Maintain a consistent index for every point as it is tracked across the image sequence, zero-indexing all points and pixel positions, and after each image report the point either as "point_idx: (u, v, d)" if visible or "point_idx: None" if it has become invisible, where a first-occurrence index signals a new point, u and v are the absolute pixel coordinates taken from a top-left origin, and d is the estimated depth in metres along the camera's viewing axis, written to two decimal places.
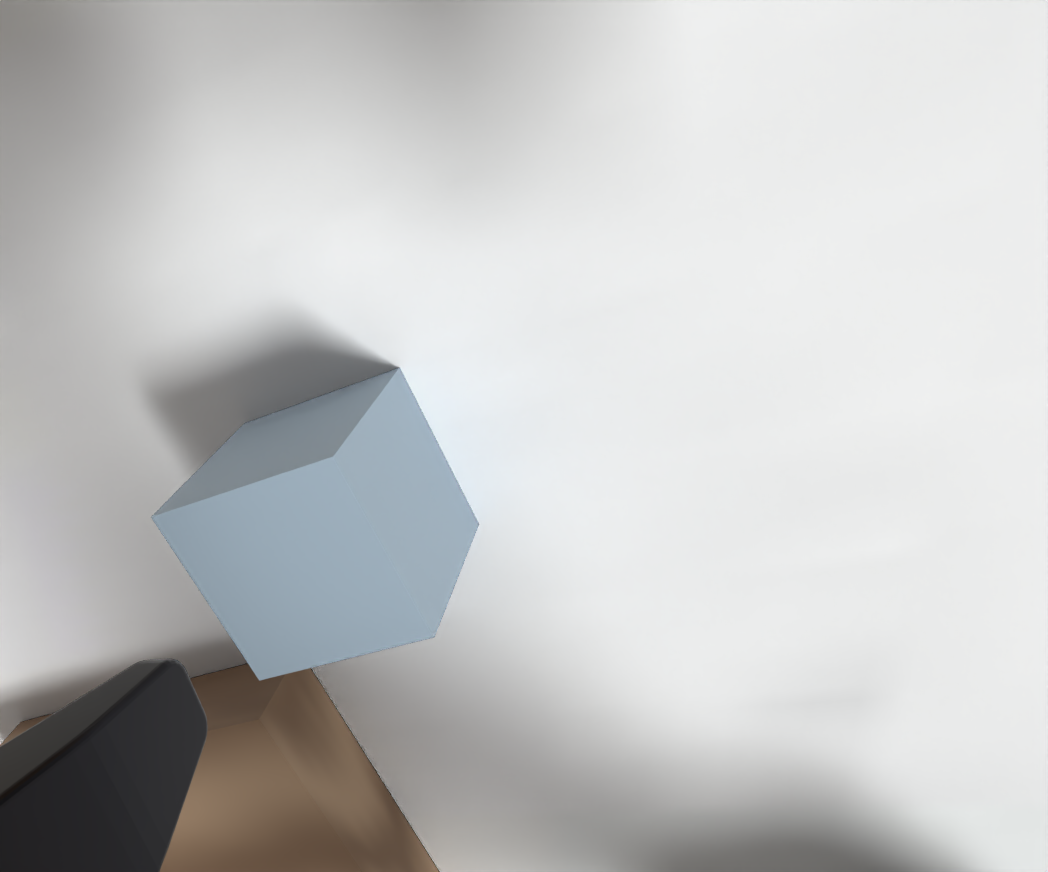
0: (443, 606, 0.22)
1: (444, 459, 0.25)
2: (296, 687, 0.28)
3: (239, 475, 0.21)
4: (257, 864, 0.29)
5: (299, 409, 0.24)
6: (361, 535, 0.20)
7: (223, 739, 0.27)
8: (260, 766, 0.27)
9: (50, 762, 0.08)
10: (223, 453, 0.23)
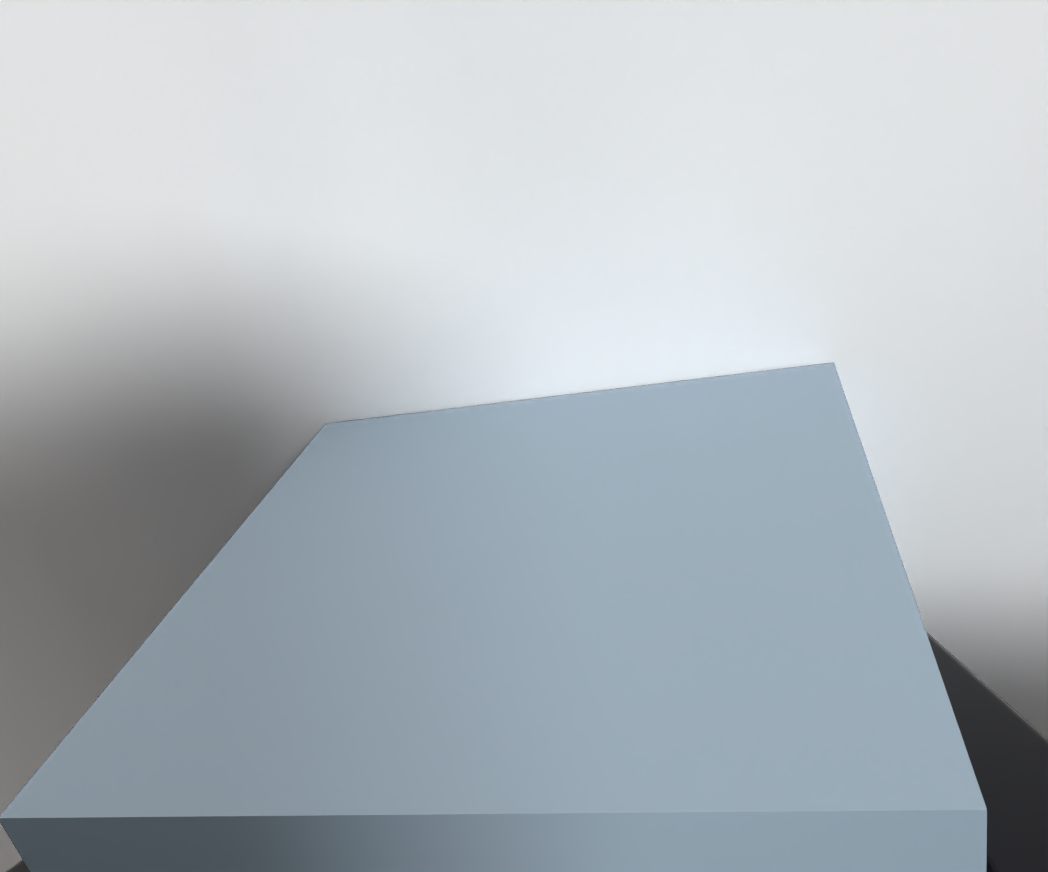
0: (909, 650, 0.05)
1: (589, 399, 0.09)
2: None
3: None
4: None
5: None
6: (342, 866, 0.05)
7: None
8: None
9: None
10: None
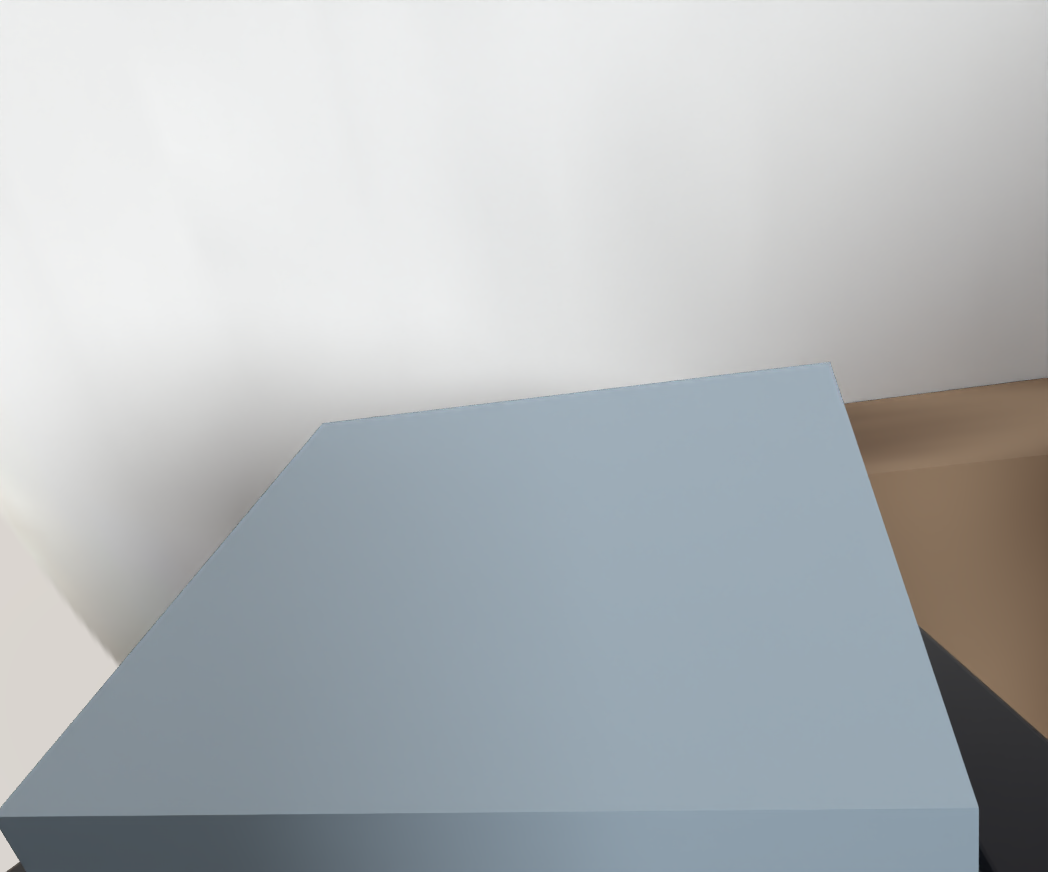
0: (904, 649, 0.05)
1: (586, 399, 0.09)
2: None
3: None
4: None
5: None
6: (337, 864, 0.05)
7: None
8: (902, 519, 0.16)
9: None
10: None
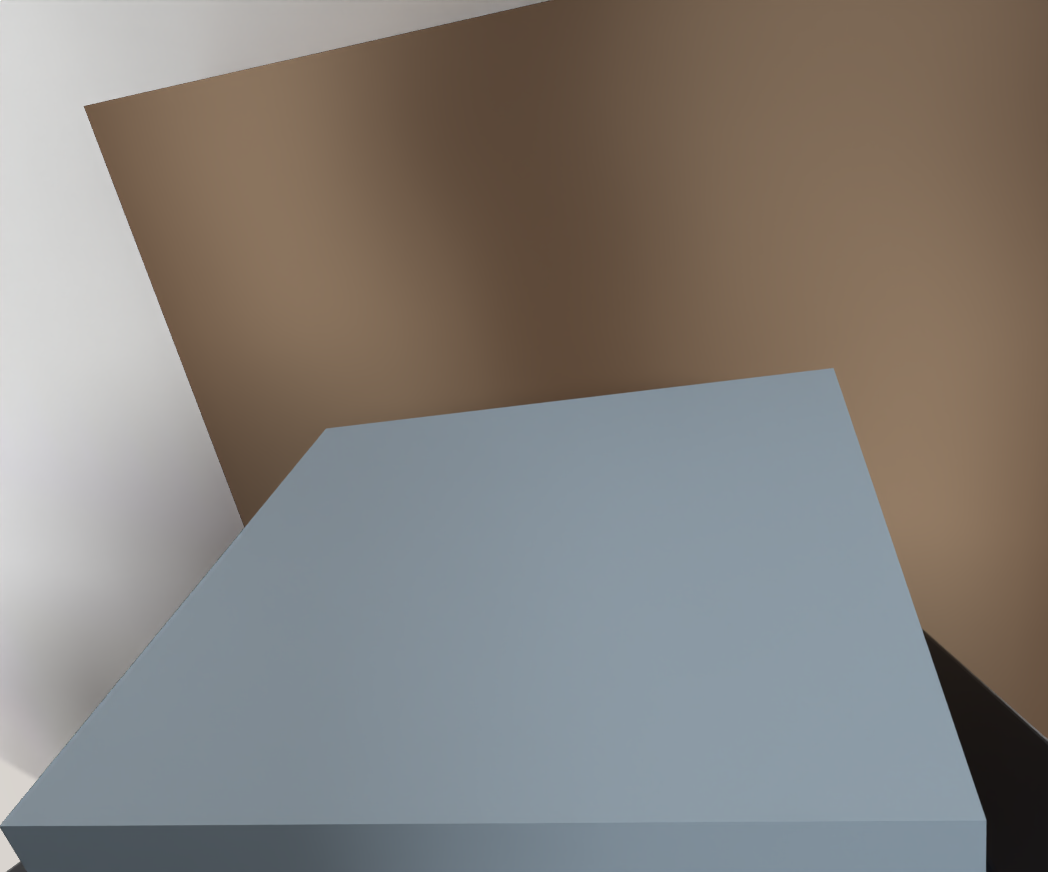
0: (909, 660, 0.05)
1: (589, 404, 0.09)
2: None
3: None
4: (546, 299, 0.12)
5: None
6: None
7: (157, 220, 0.12)
8: (226, 161, 0.12)
9: None
10: None
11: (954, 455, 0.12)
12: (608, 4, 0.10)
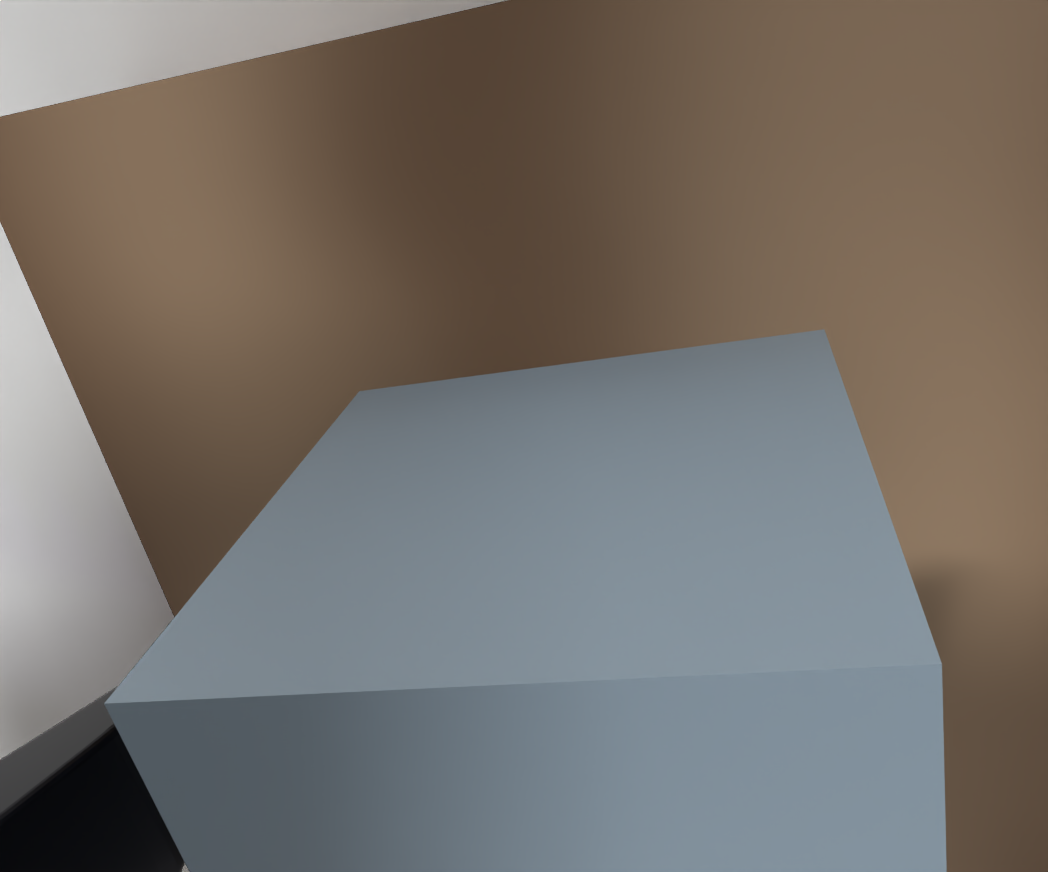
0: (885, 553, 0.06)
1: (602, 365, 0.09)
2: None
3: None
4: (518, 359, 0.10)
5: None
6: (403, 736, 0.06)
7: (53, 262, 0.10)
8: (130, 193, 0.10)
9: (74, 761, 0.08)
10: None
11: (1009, 547, 0.10)
12: (588, 3, 0.08)
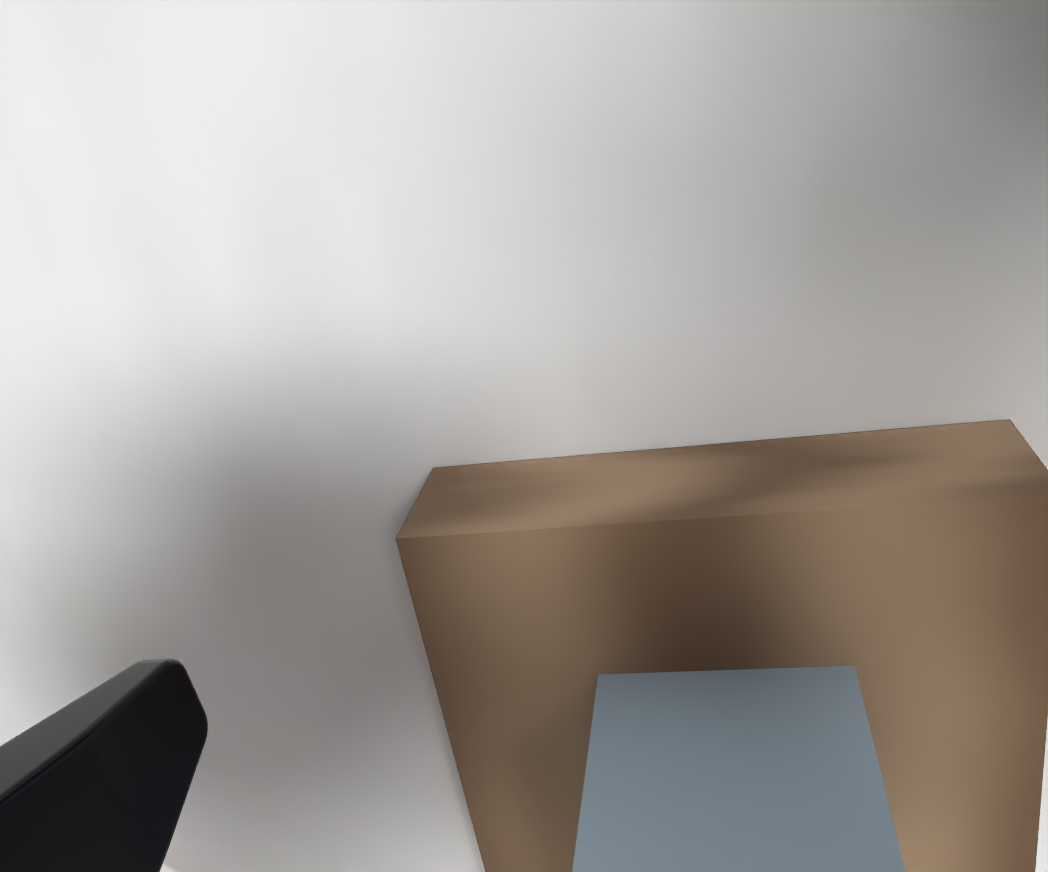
0: (889, 834, 0.14)
1: (737, 676, 0.18)
2: (448, 487, 0.20)
3: None
4: (690, 666, 0.18)
5: None
6: None
7: (433, 602, 0.19)
8: (486, 576, 0.18)
9: (51, 762, 0.08)
10: None
11: (948, 770, 0.18)
12: (746, 522, 0.17)
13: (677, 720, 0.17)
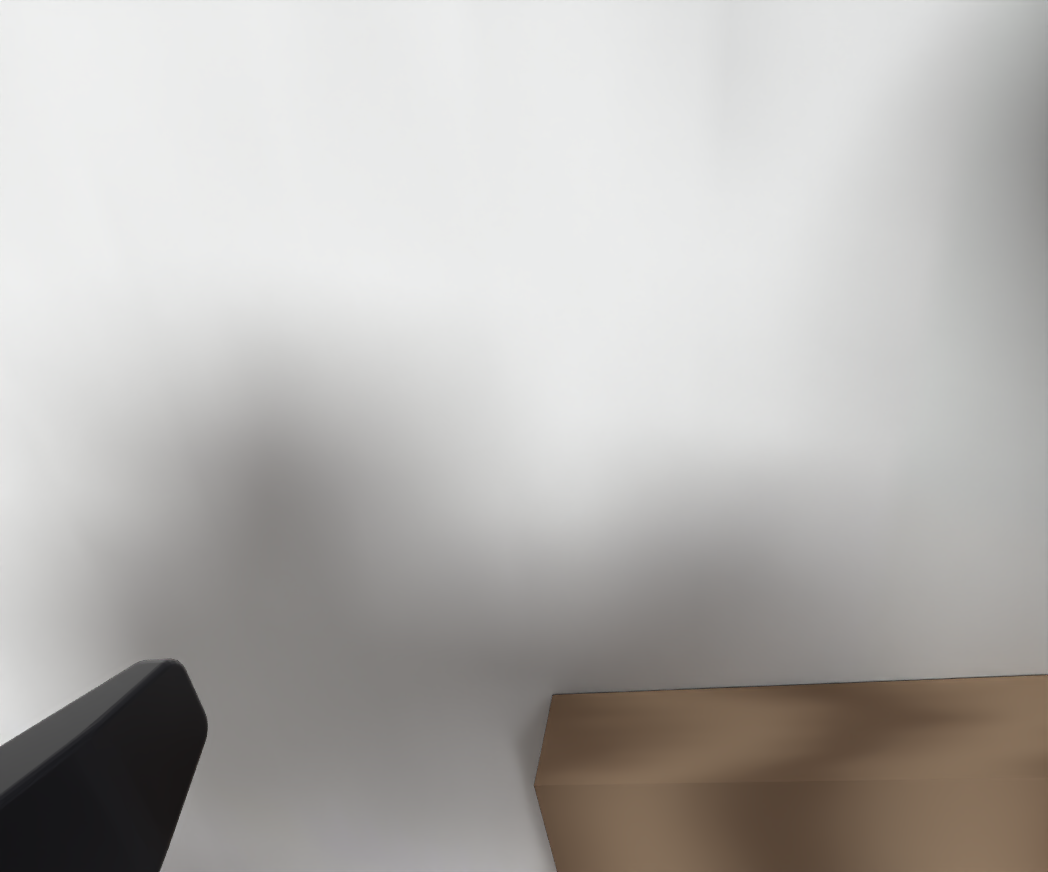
0: None
1: None
2: (571, 722, 0.23)
3: None
4: None
5: None
6: None
7: (564, 833, 0.22)
8: (612, 816, 0.21)
9: (50, 762, 0.08)
10: None
11: None
12: (842, 786, 0.19)
13: None
